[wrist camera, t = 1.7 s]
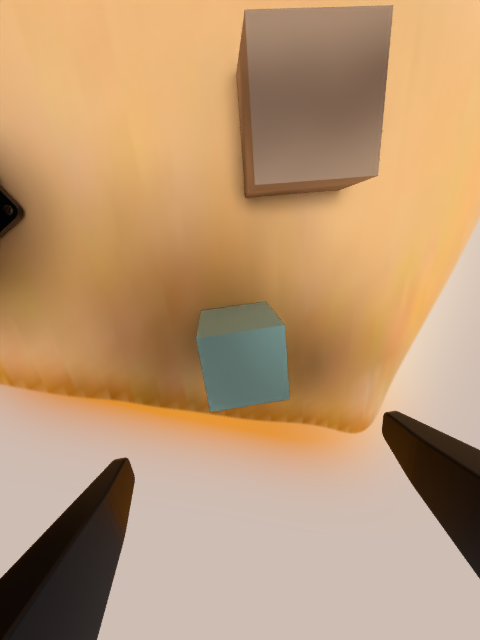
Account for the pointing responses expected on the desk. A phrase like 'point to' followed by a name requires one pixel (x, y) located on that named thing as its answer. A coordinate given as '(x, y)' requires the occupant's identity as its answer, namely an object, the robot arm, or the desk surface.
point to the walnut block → (312, 97)
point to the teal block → (243, 356)
